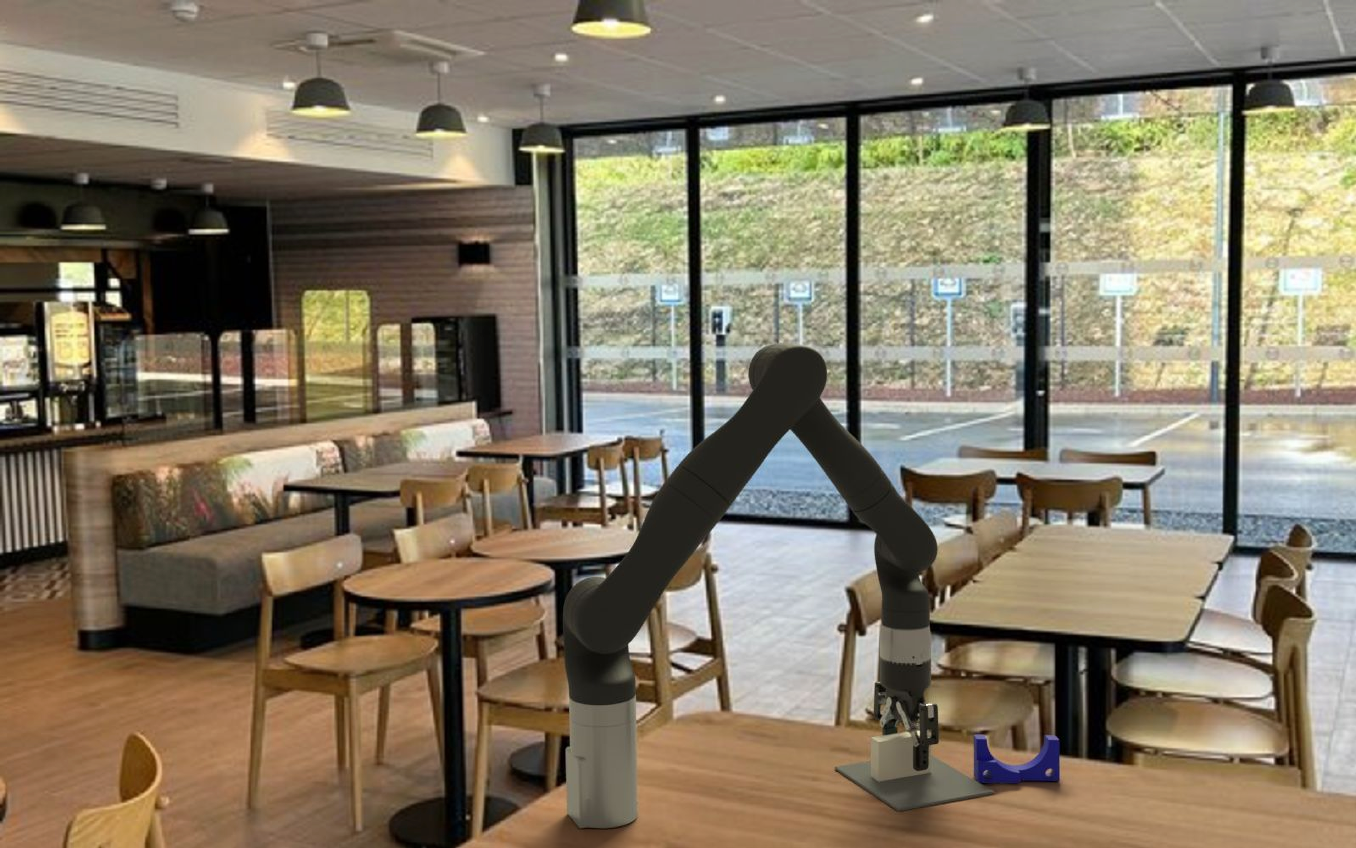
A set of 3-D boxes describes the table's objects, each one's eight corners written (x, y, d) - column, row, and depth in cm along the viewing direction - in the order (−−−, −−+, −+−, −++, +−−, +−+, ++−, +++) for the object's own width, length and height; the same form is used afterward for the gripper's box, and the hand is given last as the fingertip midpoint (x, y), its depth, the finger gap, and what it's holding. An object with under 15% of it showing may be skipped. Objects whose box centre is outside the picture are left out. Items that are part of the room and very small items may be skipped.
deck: (878, 781, 194) (878, 742, 194) (870, 776, 196) (870, 737, 196) (930, 772, 198) (931, 733, 197) (922, 767, 200) (922, 729, 199)
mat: (897, 811, 184) (897, 808, 184) (835, 769, 201) (834, 766, 201) (993, 793, 190) (993, 791, 190) (925, 754, 207) (925, 752, 206)
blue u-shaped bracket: (978, 782, 193) (978, 741, 193) (973, 774, 198) (973, 734, 198) (1061, 783, 192) (1061, 742, 192) (1055, 775, 197) (1055, 735, 197)
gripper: (859, 645, 200) (859, 749, 202) (909, 669, 187) (909, 780, 189) (901, 640, 203) (901, 742, 205) (954, 663, 190) (953, 772, 192)
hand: (905, 760), depth 197 cm, fingers open, 8 cm apart
